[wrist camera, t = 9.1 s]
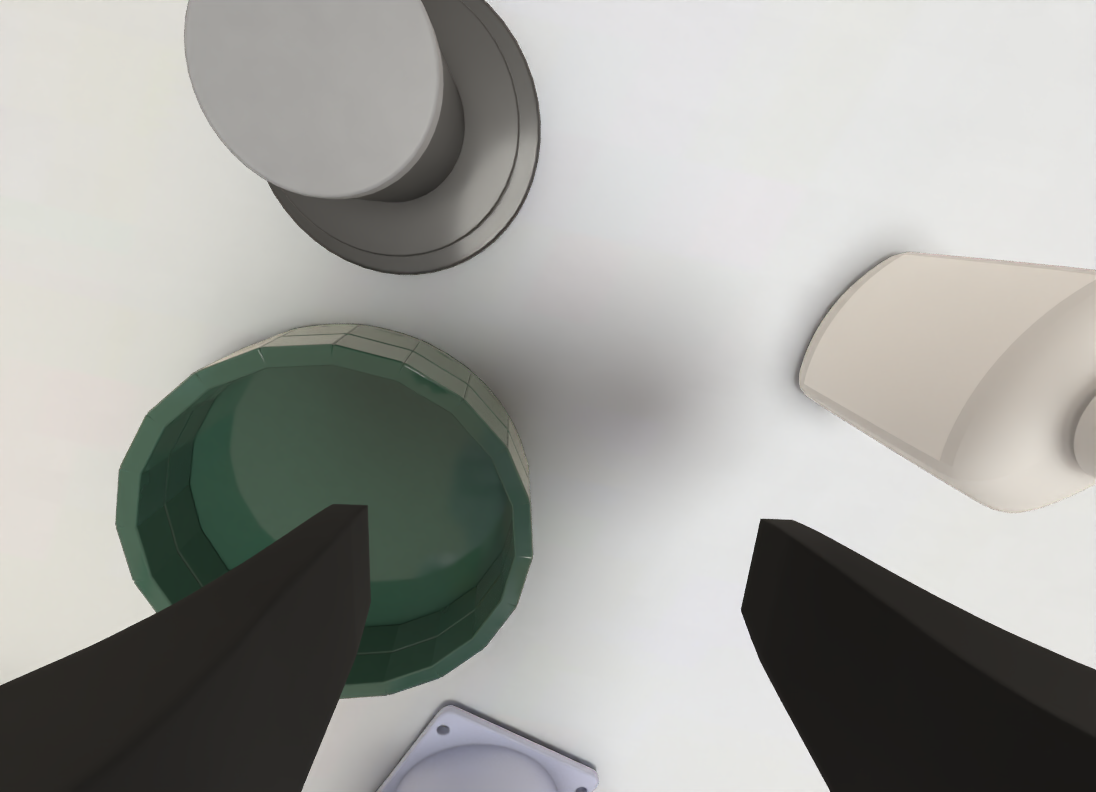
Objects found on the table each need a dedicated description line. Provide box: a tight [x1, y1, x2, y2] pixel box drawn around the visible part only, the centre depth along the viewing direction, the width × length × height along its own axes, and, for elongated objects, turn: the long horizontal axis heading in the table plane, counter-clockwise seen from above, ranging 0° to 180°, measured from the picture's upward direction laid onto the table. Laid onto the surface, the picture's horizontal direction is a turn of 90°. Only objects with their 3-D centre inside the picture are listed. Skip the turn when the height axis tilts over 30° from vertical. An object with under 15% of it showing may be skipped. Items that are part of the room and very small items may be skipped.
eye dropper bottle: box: [799, 252, 1096, 513], centre depth 13 cm, size 4×6×12 cm
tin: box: [115, 324, 533, 699], centre depth 18 cm, size 12×12×3 cm
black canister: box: [184, 0, 465, 202], centre depth 12 cm, size 4×4×6 cm
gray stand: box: [267, 0, 541, 275], centre depth 15 cm, size 8×8×2 cm
